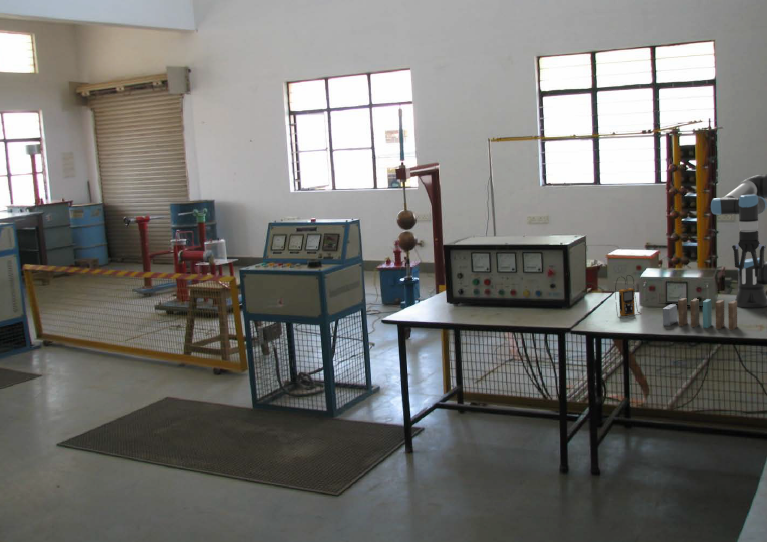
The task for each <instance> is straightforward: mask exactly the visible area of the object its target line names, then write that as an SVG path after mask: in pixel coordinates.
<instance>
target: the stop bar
mask: <svg viewBox="0 0 767 542" xmlns="http://www.w3.org/2000/svg"><path fill="white" fill-rule="evenodd" d="M677 322H678V305H676V304H667V306H665V307H663V308H662V326H668V327H670V326H672V325H674V324H676V323H677Z"/></svg>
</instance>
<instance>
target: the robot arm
mask: <svg viewBox="0 0 767 542" xmlns="http://www.w3.org/2000/svg"><path fill="white" fill-rule="evenodd" d="M766 199H767V174H762V173H761V174H756V175H753V176H750V177H748V178H746V179H744V180H742V181H740V182H738V184H737V185H736V188H734V189H732V190H731V191H730V192H728V194H725V196H723V197H717V198H714V197H713V198H712V200H711V203H710V210H711V211H710V212H711V213H712V214H713V215H720V216H721V215H722V216H723V215H724V216H726V215H727V216H728V215H731V216H732V215H738V217H739V218H738V219H739V220H738V224H739V225H738V228H739V229H738V230H739V233H738V235H739V236H738V238H739V239H738V240H739V241H738V243H736V244H733V245H732V246H731V248H732V249H733V257H734V258H733V259H734V267H735V268H736V269H737V274H738V276H737V279H738V280H737V281H738V290H737V294H736V296H735V298H734V299H735V300H734V301H737V307H739V308H747V309H748V308H749V309H752V308H753V309H755V308H756V309H757V308H758V309H759V308H764V307H767V294H766V291H765V286H767V260H765V250H766V247H767V246H766V245H765V244H760V241H759V231H758V230H759V215H760V214H761V213H763V212H765V211H766V209H767V200H766ZM739 248H740V249H741V250H742V251H741V257H740V254H739ZM757 249H758V250H759V256H757ZM747 253H750V255H751V257H752V258H747V259H746V257H747Z"/></svg>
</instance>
